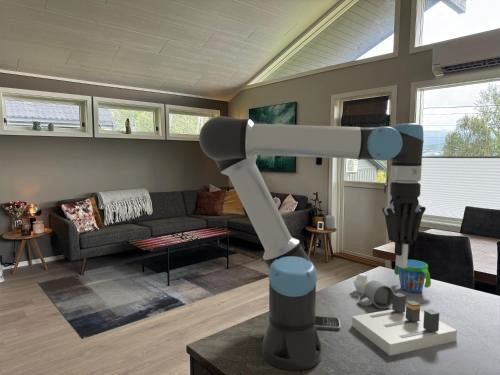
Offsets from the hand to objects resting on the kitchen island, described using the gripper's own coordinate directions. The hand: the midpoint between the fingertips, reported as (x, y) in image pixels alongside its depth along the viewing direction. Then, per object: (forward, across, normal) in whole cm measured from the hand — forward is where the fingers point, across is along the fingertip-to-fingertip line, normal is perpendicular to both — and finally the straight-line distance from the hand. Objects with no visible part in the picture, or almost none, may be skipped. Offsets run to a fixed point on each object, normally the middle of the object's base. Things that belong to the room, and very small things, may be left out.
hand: (401, 266), depth 96 cm
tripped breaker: (+16, +5, 0) cm, 17 cm away
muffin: (+20, +9, +29) cm, 36 cm away
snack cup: (+20, +28, +25) cm, 42 cm away
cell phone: (+20, -18, +12) cm, 30 cm away
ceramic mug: (+20, +7, +18) cm, 28 cm away
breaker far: (+16, +5, +6) cm, 18 cm away
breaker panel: (+20, +1, 0) cm, 20 cm away
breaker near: (+16, +5, -6) cm, 18 cm away
